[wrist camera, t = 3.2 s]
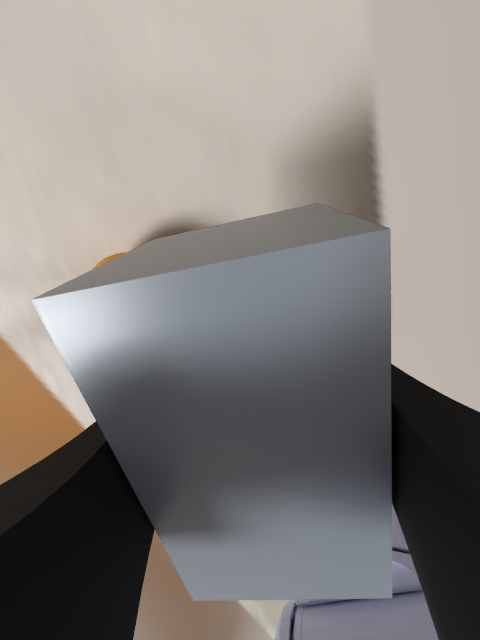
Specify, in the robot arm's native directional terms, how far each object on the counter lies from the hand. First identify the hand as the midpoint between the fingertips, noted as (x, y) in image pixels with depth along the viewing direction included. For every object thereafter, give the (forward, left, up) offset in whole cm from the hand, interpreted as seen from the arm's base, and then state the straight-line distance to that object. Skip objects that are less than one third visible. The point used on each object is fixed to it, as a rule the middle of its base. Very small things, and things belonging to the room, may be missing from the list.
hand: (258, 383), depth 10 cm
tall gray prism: (0, 0, -2) cm, 3 cm away
